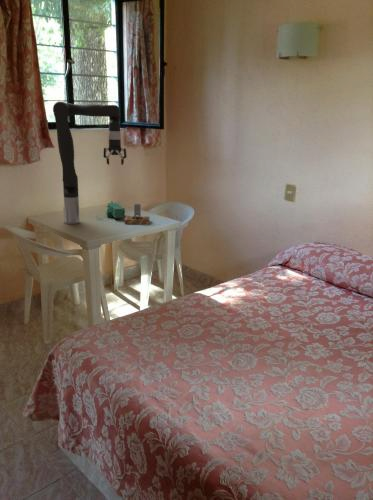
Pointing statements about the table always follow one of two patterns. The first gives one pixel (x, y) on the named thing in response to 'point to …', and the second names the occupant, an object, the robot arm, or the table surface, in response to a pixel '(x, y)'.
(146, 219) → the rail
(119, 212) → the toy
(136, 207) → the clip
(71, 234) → the table surface
